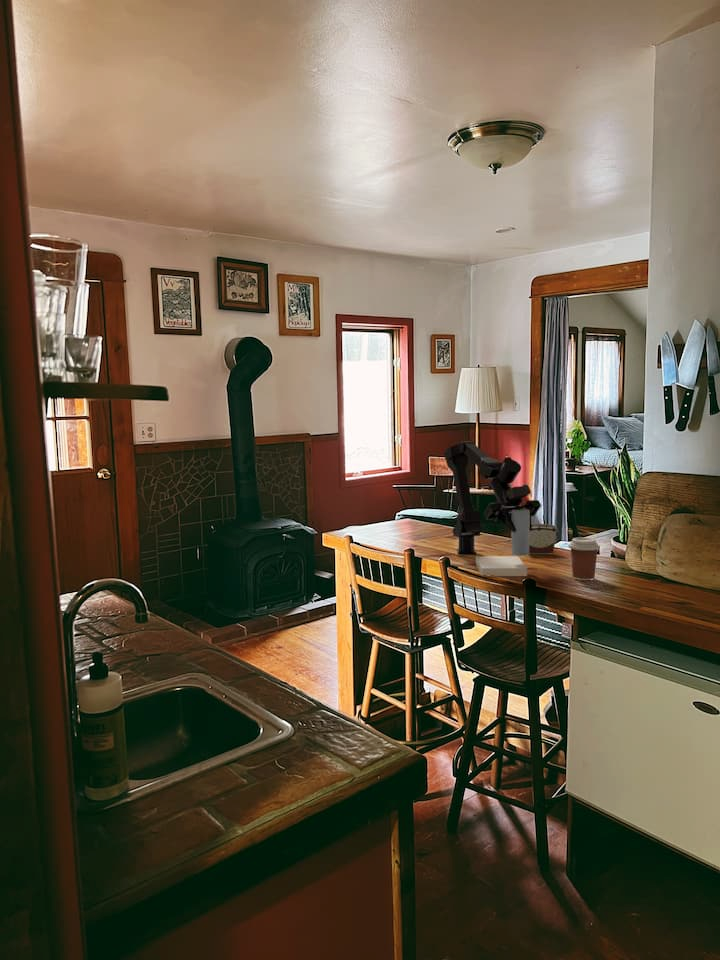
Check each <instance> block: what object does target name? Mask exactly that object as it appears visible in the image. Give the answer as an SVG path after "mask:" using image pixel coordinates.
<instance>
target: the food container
mask: <svg viewBox="0 0 720 960" xmlns="http://www.w3.org/2000/svg"><path fill="white" fill-rule="evenodd" d="M531 524H532V530H531V531H530V534H529V555H550V554H549V553H554V551H555V544H556V536H557V533H559V530H558V527H557V525H554V524H548V523H547V524H545V523H531Z"/></svg>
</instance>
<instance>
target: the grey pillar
mask: <svg viewBox="0 0 720 960" xmlns="http://www.w3.org/2000/svg"><path fill="white" fill-rule="evenodd" d="M511 520H512V522H513V524H514V526H515V529H516V531H515V532H512V531H511V530H510V531H511V535H510V536H511V537H510V538H511V542H510V544H511V545H510V546H511V549H510V550H511V551H510V553H511V555H512V556H529V555H530V554H529V534H530V510H528V509H513V510H512V513H511Z"/></svg>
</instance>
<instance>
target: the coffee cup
mask: <svg viewBox="0 0 720 960" xmlns="http://www.w3.org/2000/svg"><path fill="white" fill-rule="evenodd" d="M568 548H569V549H570V559H571V570H572V572H571V573H572V579H573V578H574V579H573V580H575V579H577V580H576V581H580V580H591V579H594V578H595V576H596V567H597V557H598V550H600V549H601V548H600V544H598V542H597V540H596V539H595V538H592V537H574V538H572V539H571V542H570V543H568ZM594 580H595V579H594ZM591 581H592V580H591Z"/></svg>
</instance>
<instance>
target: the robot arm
mask: <svg viewBox="0 0 720 960" xmlns="http://www.w3.org/2000/svg"><path fill="white" fill-rule="evenodd" d="M443 456H444V459H445V463H446V466H447V468H448V469H450V471H451V472H452V475H453V481H454V486H455V487H454V488H455V491H456V493H455V494H456V498H457V503H458V509H459V510H458V513H457V516H456V523H455V525H454V527H453V528H452V535H453V537H457V538H458V548H457V549H456V552H457V554H459V555H466V554H467V555H468V554H469V555H470V554H473V555H476V554H477V551H476V548H475V537H476V536H477V537H479V536H481V530H482V524H483V523H482V522H483V521H482V519H481V513H480V510H476V509H475V508H474V505H473V500H472V494H471V491H470V490H471V488H470V484H469V480H468V473H467V467H468V464H469V462H470V461H471V462H473V463H474V464H475V465H476V466H477V467H478V473H479V474H480V476H481V477H482V478H483V479H484V480H491V481H490V482H489V484H488V488H487V489H488V491H493V493H494V495H495V497H496V499H495V502H490V503H488V505H487V507H486V508H485V510H484V511H483V517H484V519H485V520H486V521H489V520H490V521H491V520H493V521H495V522H498V523H499V524H501V525H503V526H504V527H505V528H507V529H508V530H509V531H512V532H515V531H516V529H515V526H514V524H513V522H512V517H510V514H512V510H513V509H528V510H530V531H531V530H532V524H533V523H532V517H534V516H536V514H537V512H538V511H539V510H540V508H541V507H542V504H541V502H540V501H539V500H538V499H530V500H527V501H525V503H524V504H523V505H522V504H521V503H522V502H523V499H524V498H526V497H528V496H529V495H530V494H531V489H530V487H529V485H528V484H523V485H521V486H513V487H512V486H511V484H512V483H513V482H514V481H515V480H516V479H517V477H518V475H519V474H520V472H521V471H522V466H521V464H520V463H519V462H518V461H516V460H514V459H512V458H511V456H509V457H507V456H506V457H504V459H503V461H500V460H499V459H497V458H493V457H490V456H489V455H487V453H485V452H484V451H483V450H482V449H480V448H479V447H478V446H477V445H476V443H475V442H474V441H471V440H468V441H461V442H459V443H458V444H455V445H452V446H450V447H447V448H446V450H445V451H444V454H443ZM469 460H470V461H469Z"/></svg>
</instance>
